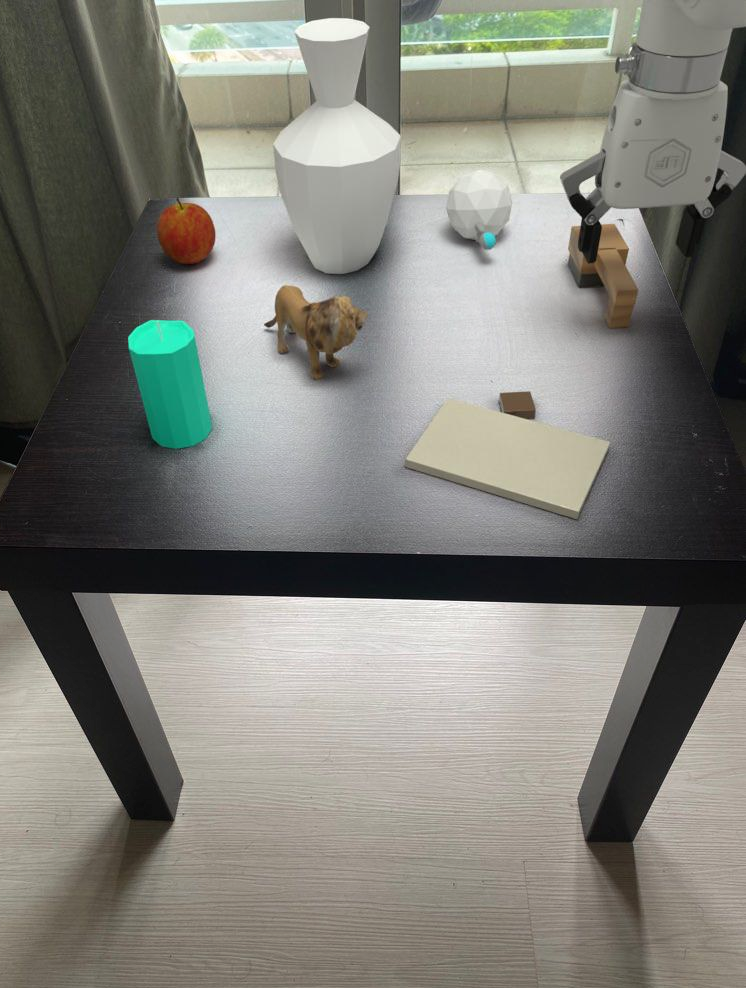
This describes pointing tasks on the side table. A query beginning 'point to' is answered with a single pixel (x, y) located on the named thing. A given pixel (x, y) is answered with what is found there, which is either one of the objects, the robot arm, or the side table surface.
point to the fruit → (186, 232)
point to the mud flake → (517, 404)
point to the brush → (606, 273)
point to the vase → (337, 154)
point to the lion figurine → (316, 324)
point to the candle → (170, 382)
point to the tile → (510, 457)
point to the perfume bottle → (479, 206)
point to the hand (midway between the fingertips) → (635, 254)
